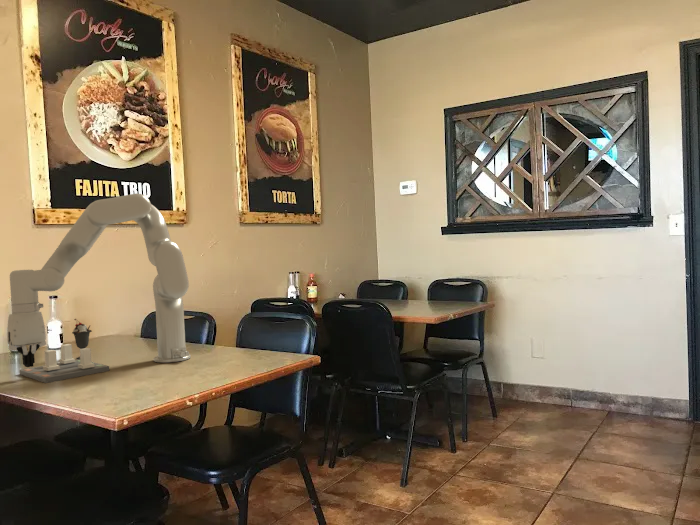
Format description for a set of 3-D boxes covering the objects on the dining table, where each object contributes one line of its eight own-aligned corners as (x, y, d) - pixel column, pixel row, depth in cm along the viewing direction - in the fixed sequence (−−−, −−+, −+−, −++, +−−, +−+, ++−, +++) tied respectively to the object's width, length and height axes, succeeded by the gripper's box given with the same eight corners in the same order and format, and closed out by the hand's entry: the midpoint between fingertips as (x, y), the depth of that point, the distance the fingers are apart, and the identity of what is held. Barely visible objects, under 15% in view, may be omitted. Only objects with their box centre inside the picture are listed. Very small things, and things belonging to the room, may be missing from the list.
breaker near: (94, 366, 191) (93, 348, 191) (83, 368, 189) (82, 350, 188) (89, 365, 194) (88, 347, 194) (78, 367, 191) (77, 349, 191)
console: (109, 370, 193) (109, 365, 193) (45, 383, 179) (45, 377, 179) (80, 363, 208) (80, 358, 208) (19, 374, 193) (19, 369, 193)
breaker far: (75, 361, 201) (74, 344, 201) (64, 363, 199) (63, 346, 198) (70, 360, 204) (69, 343, 204) (59, 362, 201) (58, 345, 201)
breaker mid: (59, 368, 190) (58, 350, 190) (48, 370, 188) (46, 352, 188) (54, 367, 193) (53, 349, 193) (43, 369, 190) (42, 351, 190)
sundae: (69, 359, 217) (66, 319, 217) (84, 355, 223) (82, 316, 223) (81, 360, 214) (78, 319, 214) (96, 356, 220) (94, 317, 220)
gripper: (45, 305, 193) (49, 361, 193) (-6, 311, 182) (-2, 369, 182) (54, 306, 188) (58, 363, 188) (3, 312, 177) (7, 372, 177)
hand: (28, 366), depth 185 cm, fingers closed
